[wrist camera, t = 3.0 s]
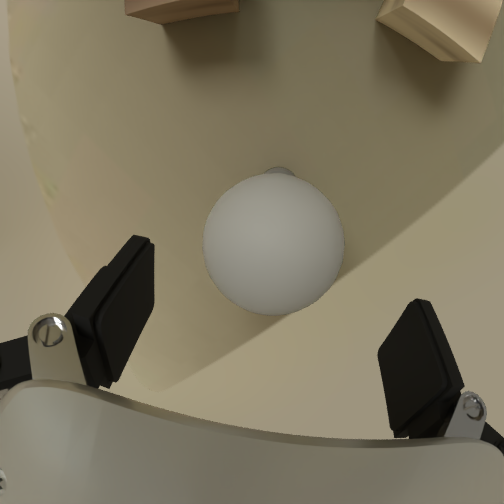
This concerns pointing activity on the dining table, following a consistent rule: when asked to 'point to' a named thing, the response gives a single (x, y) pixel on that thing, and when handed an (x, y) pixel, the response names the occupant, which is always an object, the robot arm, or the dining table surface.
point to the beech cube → (444, 25)
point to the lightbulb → (273, 243)
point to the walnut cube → (177, 9)
